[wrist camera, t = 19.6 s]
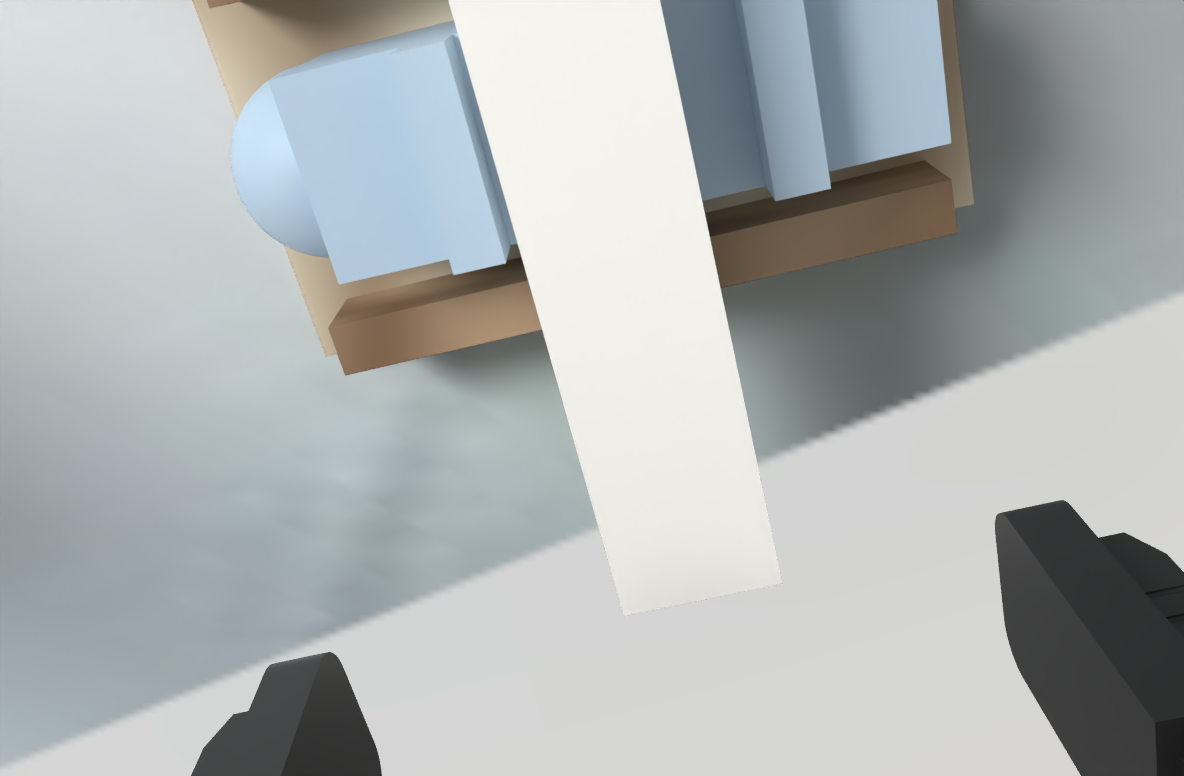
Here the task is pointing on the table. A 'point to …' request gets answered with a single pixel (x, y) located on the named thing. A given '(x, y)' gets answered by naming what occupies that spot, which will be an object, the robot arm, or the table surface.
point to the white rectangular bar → (624, 288)
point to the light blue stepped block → (463, 155)
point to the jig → (502, 293)
